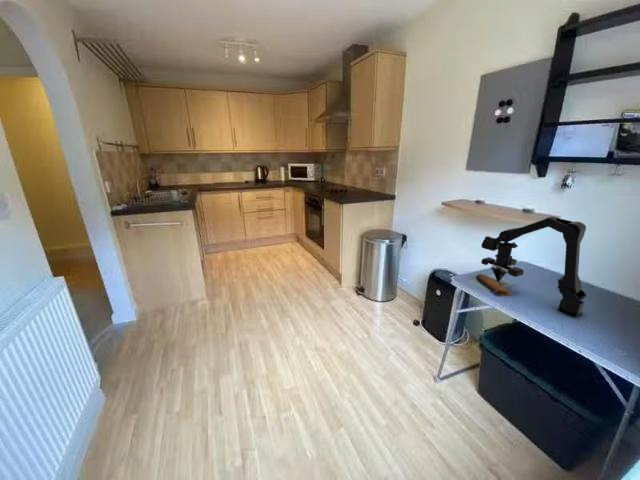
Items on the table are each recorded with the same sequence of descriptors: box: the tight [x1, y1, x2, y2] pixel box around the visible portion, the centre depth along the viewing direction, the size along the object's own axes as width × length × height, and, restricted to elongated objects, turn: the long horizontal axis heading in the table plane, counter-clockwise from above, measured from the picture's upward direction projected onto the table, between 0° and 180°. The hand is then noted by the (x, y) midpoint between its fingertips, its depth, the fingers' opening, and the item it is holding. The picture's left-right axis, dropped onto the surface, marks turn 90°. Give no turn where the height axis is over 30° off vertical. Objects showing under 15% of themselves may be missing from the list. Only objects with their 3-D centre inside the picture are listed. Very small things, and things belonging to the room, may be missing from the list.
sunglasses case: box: [475, 273, 512, 297], centre depth 141 cm, size 18×7×7 cm
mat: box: [467, 273, 516, 293], centre depth 147 cm, size 13×20×1 cm, turn 113°
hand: (498, 281), depth 143 cm, fingers closed
